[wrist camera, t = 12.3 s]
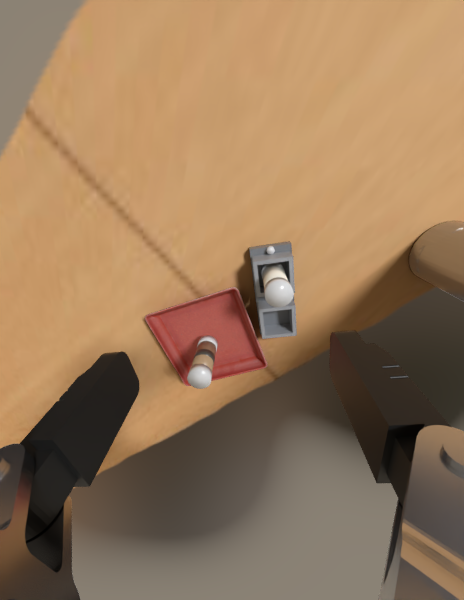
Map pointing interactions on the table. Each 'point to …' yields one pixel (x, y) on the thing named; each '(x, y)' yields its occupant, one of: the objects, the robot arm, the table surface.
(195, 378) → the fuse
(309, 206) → the table surface
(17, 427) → the table surface
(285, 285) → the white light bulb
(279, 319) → the block
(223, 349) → the plant saucer
